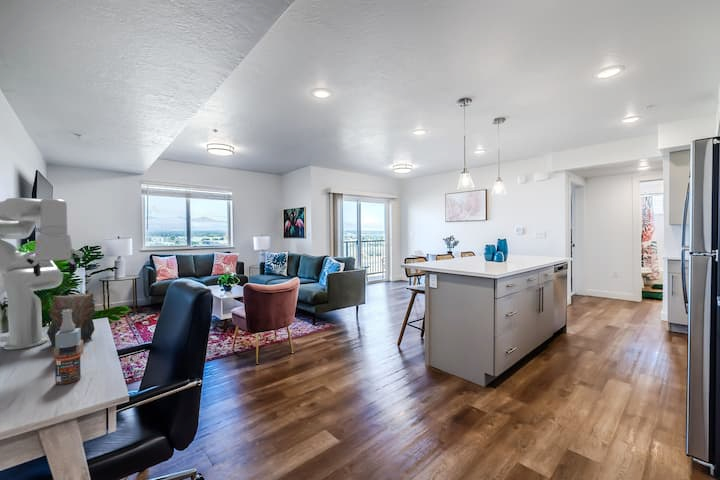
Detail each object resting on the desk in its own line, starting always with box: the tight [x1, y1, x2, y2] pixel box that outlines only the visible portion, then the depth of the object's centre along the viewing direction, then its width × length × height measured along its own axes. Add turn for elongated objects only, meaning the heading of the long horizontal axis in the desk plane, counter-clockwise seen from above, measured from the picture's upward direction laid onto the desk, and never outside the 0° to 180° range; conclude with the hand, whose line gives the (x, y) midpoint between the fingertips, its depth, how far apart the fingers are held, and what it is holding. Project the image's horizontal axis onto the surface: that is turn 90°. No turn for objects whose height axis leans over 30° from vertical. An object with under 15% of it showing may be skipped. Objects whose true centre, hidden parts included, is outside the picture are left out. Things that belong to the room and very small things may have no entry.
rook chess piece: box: [60, 309, 76, 333], centre depth 118 cm, size 4×4×8 cm
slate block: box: [55, 328, 81, 349], centre depth 118 cm, size 6×6×5 cm
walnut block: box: [53, 340, 84, 364], centre depth 119 cm, size 7×7×5 cm
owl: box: [46, 292, 96, 347], centre depth 136 cm, size 13×13×20 cm
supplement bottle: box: [54, 343, 82, 386], centre depth 99 cm, size 6×6×11 cm
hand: (55, 275), depth 124 cm, fingers open, 9 cm apart
